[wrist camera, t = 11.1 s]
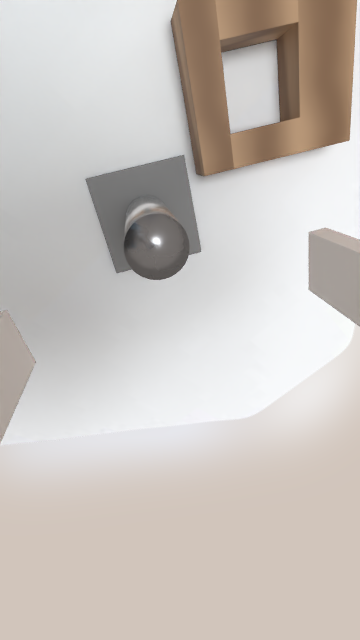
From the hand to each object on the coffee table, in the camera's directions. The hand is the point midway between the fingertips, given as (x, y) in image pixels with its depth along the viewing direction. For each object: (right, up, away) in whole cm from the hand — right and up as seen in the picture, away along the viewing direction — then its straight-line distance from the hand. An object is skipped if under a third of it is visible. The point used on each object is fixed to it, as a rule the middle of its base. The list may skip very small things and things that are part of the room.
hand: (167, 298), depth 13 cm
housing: (+8, +21, +16) cm, 27 cm away
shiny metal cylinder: (-3, +10, +19) cm, 22 cm away
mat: (-3, +10, +20) cm, 22 cm away
